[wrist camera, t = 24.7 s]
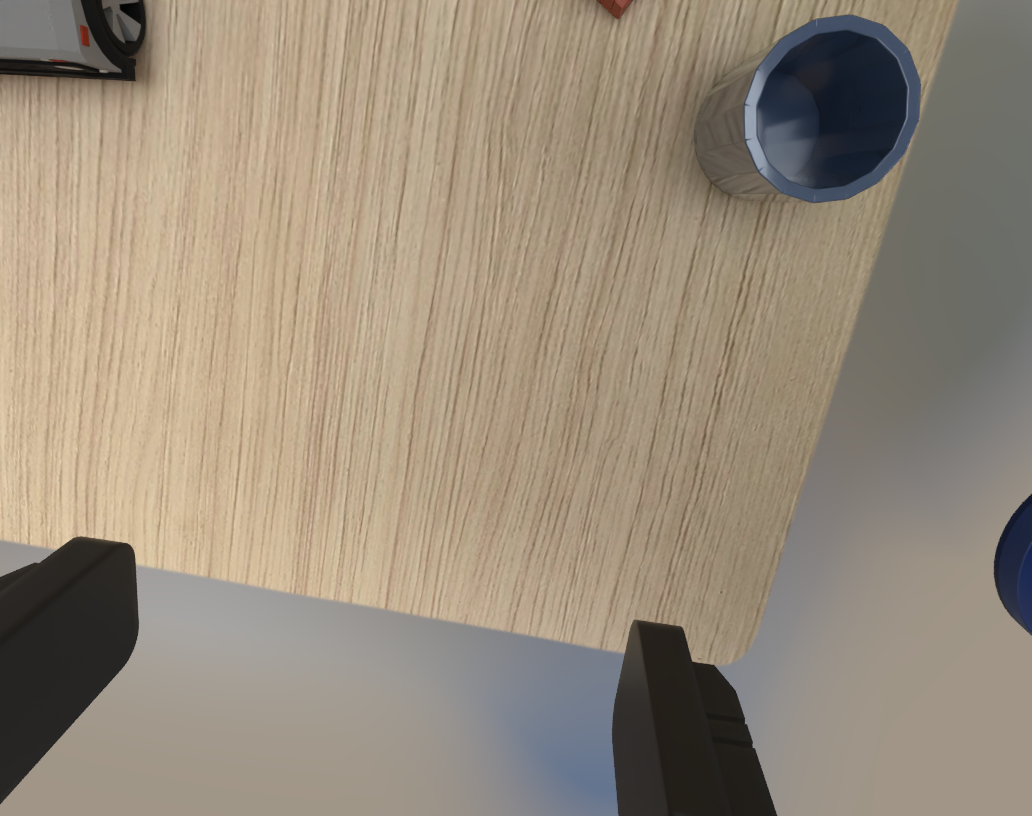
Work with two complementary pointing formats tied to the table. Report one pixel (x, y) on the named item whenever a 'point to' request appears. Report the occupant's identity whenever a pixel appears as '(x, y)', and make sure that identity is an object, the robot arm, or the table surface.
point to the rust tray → (616, 6)
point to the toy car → (71, 38)
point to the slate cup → (811, 114)
